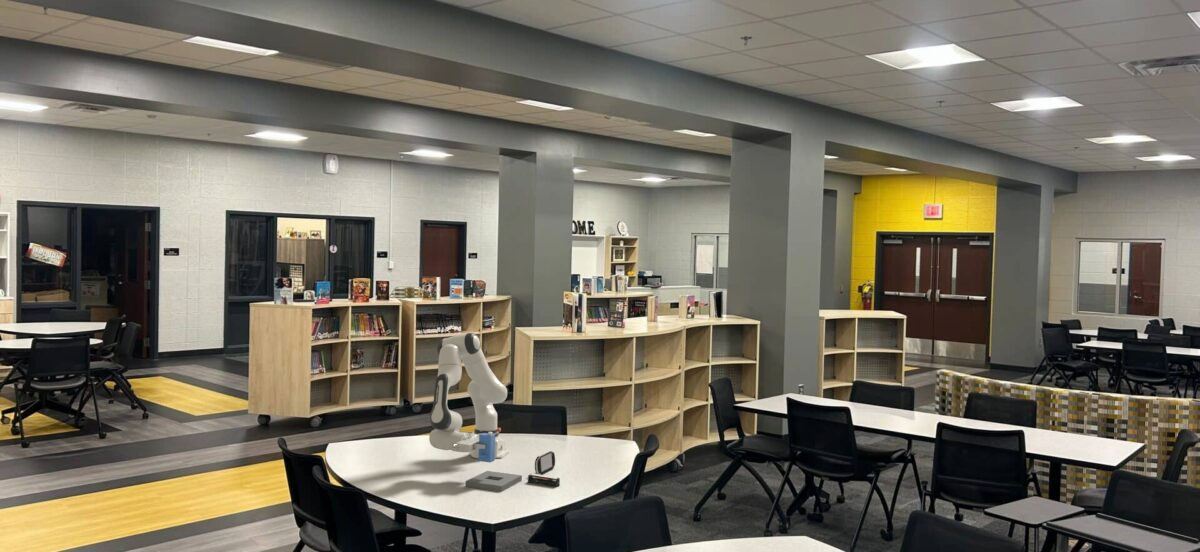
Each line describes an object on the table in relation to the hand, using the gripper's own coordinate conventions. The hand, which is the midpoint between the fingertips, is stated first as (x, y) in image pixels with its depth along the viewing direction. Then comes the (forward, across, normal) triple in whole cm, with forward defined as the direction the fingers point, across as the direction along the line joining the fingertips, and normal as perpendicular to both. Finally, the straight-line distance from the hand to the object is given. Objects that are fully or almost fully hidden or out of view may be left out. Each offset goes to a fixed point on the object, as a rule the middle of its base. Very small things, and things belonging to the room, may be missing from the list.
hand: (488, 445), depth 374 cm
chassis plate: (+3, 0, +17) cm, 17 cm away
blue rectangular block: (-1, 0, +7) cm, 7 cm away
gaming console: (+15, +30, +17) cm, 37 cm away
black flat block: (+25, +9, +18) cm, 32 cm away
